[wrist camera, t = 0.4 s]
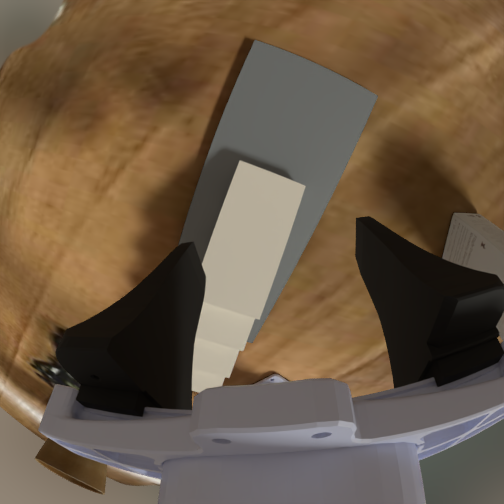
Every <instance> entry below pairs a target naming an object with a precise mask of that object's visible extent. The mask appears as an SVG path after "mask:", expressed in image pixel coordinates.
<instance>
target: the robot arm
mask: <svg viewBox="0 0 504 504" xmlns="http://www.w3.org/2000/svg"><path fill="white" fill-rule="evenodd" d="M355 256H356V260H357V263H358V267H359V270H360V273H361V276H362V278H363V280H364V283H365V285H366V287H367V289H368V292H369V294H370V296H371V299H372V301H373V303H374V306H375V308H376V310H377V313H378V315H379V318H380V321H381V325H382V329H383V332H384V336H385V340H386V344H387V349H388V353H389V358H390V364H391V369H392V375H393V382H394V389H390V390H386V391H382V392H378V393H373V394H369V395H364V396H359V397H354V398H352V397H351V392H350V389H349V387H348V385H347V384H346V383H344V382H341V381H338V380H335V379H331V378H320V379H305V380H297V381H287V380H286V379H284V378H283V377H281V376H280V375H278V374H273V375H271V376H269V377H267V378H265V379H263V380H261V381H259V382H257V383H255V384H253V385H237V386H220V387H213V388H207V389H205V390H203V391H201V392H200V393H199V394H197V395H196V396H194V402H193V409H192V368H193V354H194V343H195V337H196V332H197V328H198V323H199V319H200V314H201V310H202V305H203V301H204V296H205V286H206V275H205V272H204V269H203V267H202V264H201V261H200V258H199V255H198V253H197V250H196V247H195V244H194V241H193V242H187V243H181V244H180V245H179V246H178V247H176V248H175V249H174V250H173V251H172V252H171V253H170V254H169V255H168V256H167V257H166V258H165V259H164V260H163V261H162V262H161V263H160V264H159V266H158V267H157V268H156V269H155V270H154V271H152V272H151V273H150V274H149V275H148V276H147V277H146V278H145V279H144V280H143V281H142V282H141V283H140V284H139V285H137V286H136V287H135V288H134V289H133V290H132V291H130V292H129V293H128V294H127V295H125V296H124V297H123V298H121V299H120V300H118V301H117V302H115V303H114V304H113V305H111V306H110V307H108V308H107V309H105V310H103V311H102V312H100V313H99V314H97V315H95V316H93V317H91V318H90V319H88V320H86V321H84V322H82V323H79V324H77V325H75V326H73V327H71V328H69V329H67V330H66V331H65V333H64V335H63V337H62V339H61V341H60V343H59V345H58V347H57V349H56V357H57V359H58V361H59V363H60V364H61V365H62V366H63V368H64V369H65V370H66V371H67V372H68V373H69V374H70V375H71V376H72V377H73V378H74V379H76V380H77V381H78V382H79V383H80V384H81V386H80V389H79V391H78V390H77V389H75V388H72V387H68V386H63V385H59V384H56V385H55V387H54V389H53V392H52V394H51V397H50V399H49V402H48V404H47V407H46V410H45V412H44V415H43V418H42V421H41V424H40V427H39V432H40V433H42V434H43V435H45V436H46V437H48V438H50V439H51V440H53V441H54V442H56V443H58V444H59V445H61V446H63V447H64V448H66V449H68V450H70V451H71V452H73V453H75V454H77V455H80V456H83V457H86V458H89V459H91V460H94V461H97V462H100V463H103V464H107V465H110V466H113V467H116V468H119V469H123V470H126V471H130V472H133V473H137V474H141V475H145V476H149V477H153V478H158V479H161V484H160V491H159V499H158V504H426V502H425V494H424V487H423V481H422V476H421V470H420V464H419V460H421V459H424V458H426V457H429V456H431V455H433V454H436V453H438V452H441V451H443V450H445V449H447V448H449V447H452V446H454V445H456V444H458V443H460V442H462V441H464V440H466V439H468V438H470V437H472V436H474V435H476V434H477V433H479V432H481V431H483V430H485V429H486V428H488V427H490V426H492V425H493V424H495V423H497V422H498V421H500V420H502V419H504V341H503V342H502V343H501V344H500V343H499V341H498V339H497V337H498V336H499V331H498V329H497V327H496V326H497V324H498V322H499V320H500V318H501V317H502V315H503V313H504V284H503V282H502V281H501V280H500V278H499V277H498V276H497V275H496V274H491V273H487V272H482V271H478V270H474V269H471V268H467V267H464V266H461V265H458V264H455V263H452V262H450V261H447V260H445V259H442V258H440V257H438V256H435V255H433V254H431V253H429V252H427V251H425V250H423V249H421V248H419V247H418V246H416V245H414V244H412V243H411V242H409V241H407V240H406V239H404V238H402V237H401V236H399V235H398V234H396V233H395V232H393V231H392V230H390V229H388V228H387V227H385V226H384V225H382V224H381V223H379V222H378V221H376V220H375V219H373V218H371V217H369V216H368V217H360V218H356V254H355Z"/></svg>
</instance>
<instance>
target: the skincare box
mask: <svg viewBox="0 0 504 504" xmlns="http://www.w3.org/2000/svg"><path fill="white" fill-rule="evenodd" d="M442 259H445V260H447V261H450V262H452V263H455V264H458V265H461V266H464V267H467V268H471V269H474V270H478V271H482V272H487V273H491V274H496V275H497V276H498V277H499V278H500V280H501V281H502V282H503V284H504V231H503V230H501V229H500V228H498V227H497V226H496V225H494V224H493V223H492V222H490V221H489V220H487V219H486V218H484V217H483V216H482V215H480V214H471V213H454V214H453V216H452V220H451V224H450V228H449V232H448V236H447V240H446V244H445V249H444V253H443V257H442ZM496 327H497V329H498V331H499V336H500V337H501V339H502V340H503V341H504V313H503V315H502V317H501V318H500V320H499V322H498V324H497V326H496Z"/></svg>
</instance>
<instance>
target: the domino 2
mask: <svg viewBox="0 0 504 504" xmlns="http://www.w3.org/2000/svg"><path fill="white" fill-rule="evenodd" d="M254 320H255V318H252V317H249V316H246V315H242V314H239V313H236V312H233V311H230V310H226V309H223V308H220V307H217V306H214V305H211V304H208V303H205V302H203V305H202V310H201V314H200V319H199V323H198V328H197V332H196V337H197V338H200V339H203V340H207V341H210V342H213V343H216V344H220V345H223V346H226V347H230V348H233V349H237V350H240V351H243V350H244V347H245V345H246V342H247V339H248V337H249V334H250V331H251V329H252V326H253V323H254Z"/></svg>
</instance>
